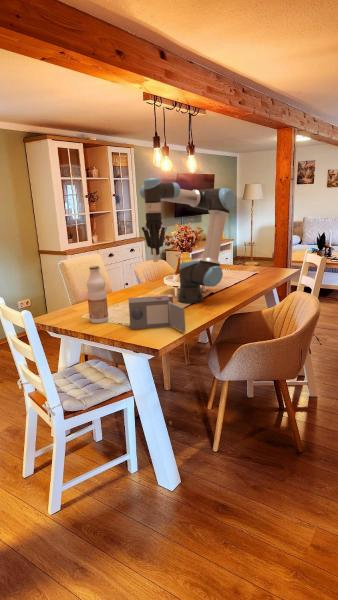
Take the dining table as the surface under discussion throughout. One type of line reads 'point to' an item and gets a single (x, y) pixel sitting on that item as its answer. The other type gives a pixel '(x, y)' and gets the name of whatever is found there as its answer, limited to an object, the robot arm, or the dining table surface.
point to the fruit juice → (97, 296)
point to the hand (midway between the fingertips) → (155, 261)
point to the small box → (168, 297)
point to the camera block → (149, 312)
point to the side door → (176, 316)
